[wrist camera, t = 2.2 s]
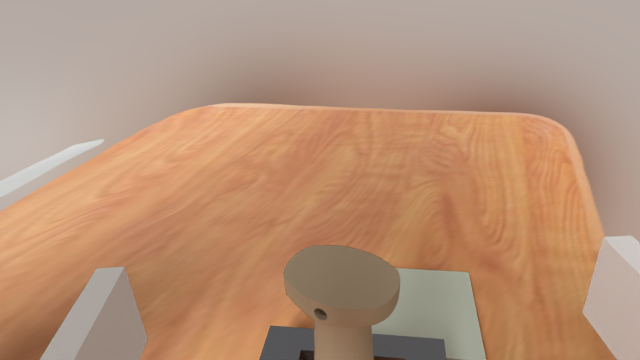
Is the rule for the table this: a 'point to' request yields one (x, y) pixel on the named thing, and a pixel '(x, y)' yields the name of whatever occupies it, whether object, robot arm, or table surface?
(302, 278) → the handle
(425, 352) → the vise
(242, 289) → the table surface
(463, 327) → the mat
